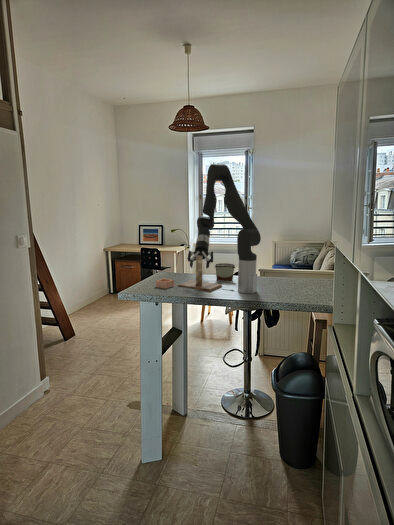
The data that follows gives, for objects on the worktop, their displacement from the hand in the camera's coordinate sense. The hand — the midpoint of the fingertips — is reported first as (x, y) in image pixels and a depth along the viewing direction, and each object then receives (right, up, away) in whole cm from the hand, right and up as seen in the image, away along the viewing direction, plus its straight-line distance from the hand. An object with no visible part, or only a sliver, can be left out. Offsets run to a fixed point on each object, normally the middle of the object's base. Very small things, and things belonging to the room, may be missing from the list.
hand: (199, 267), depth 194 cm
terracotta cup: (-19, -11, +1) cm, 22 cm away
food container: (+16, -8, +22) cm, 28 cm away
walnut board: (0, -11, +3) cm, 11 cm away
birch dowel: (0, -10, +2) cm, 10 cm away
